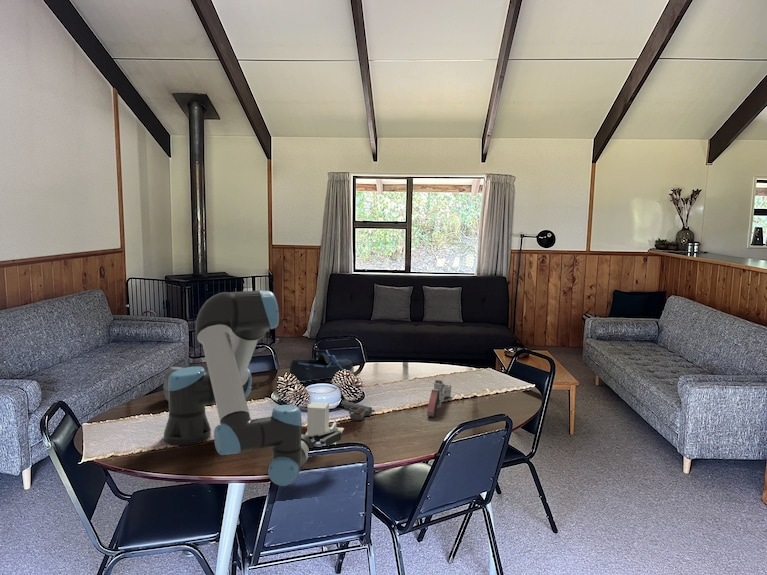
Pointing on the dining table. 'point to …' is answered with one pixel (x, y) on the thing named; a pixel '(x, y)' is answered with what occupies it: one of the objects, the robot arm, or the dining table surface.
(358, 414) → the handgun
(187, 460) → the dining table surface
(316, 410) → the tall cream block
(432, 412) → the revolver
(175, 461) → the dining table surface
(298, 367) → the moccasin
